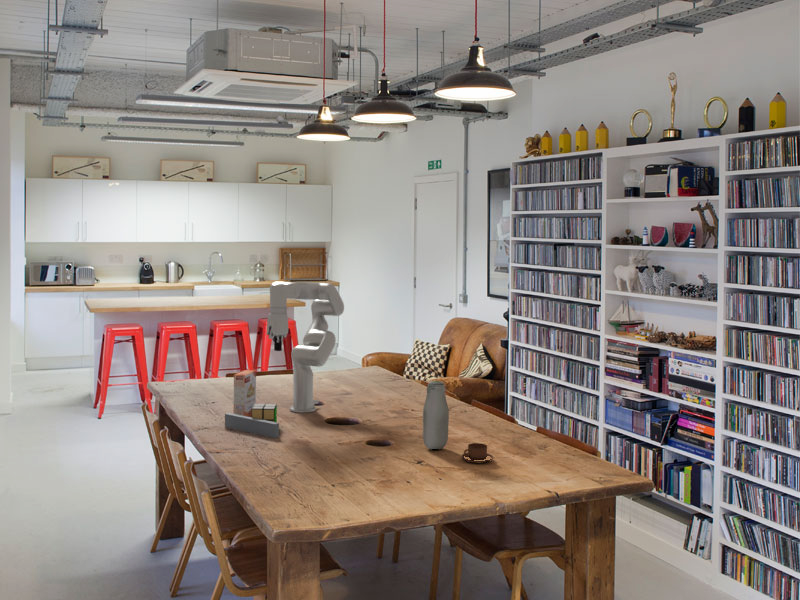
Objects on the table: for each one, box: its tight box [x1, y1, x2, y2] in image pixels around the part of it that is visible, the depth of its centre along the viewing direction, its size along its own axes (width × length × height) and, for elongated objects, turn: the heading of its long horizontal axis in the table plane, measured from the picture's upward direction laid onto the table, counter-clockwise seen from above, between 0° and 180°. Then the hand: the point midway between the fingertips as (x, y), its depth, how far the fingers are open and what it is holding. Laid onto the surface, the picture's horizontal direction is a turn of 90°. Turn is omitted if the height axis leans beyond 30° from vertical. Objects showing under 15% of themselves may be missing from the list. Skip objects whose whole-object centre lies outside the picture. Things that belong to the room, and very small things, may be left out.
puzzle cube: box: [250, 403, 278, 423], centre depth 363 cm, size 10×10×10 cm
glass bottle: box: [422, 380, 450, 450], centre depth 333 cm, size 10×10×28 cm
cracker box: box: [232, 369, 257, 417], centre depth 384 cm, size 14×6×21 cm, turn 168°
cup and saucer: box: [461, 442, 494, 463], centre depth 319 cm, size 12×12×6 cm
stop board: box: [224, 412, 280, 439], centre depth 356 cm, size 2×30×6 cm, turn 55°
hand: (277, 350), depth 377 cm, fingers closed
